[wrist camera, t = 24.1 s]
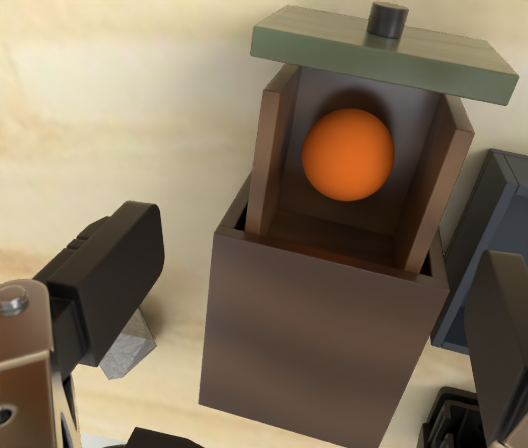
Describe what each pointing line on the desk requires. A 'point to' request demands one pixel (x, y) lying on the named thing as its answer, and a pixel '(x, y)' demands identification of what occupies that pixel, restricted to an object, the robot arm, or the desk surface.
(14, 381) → the robot arm
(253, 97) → the desk surface
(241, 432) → the desk surface
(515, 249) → the box
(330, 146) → the ball
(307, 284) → the cabinet
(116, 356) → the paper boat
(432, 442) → the end cap
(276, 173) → the drawer
